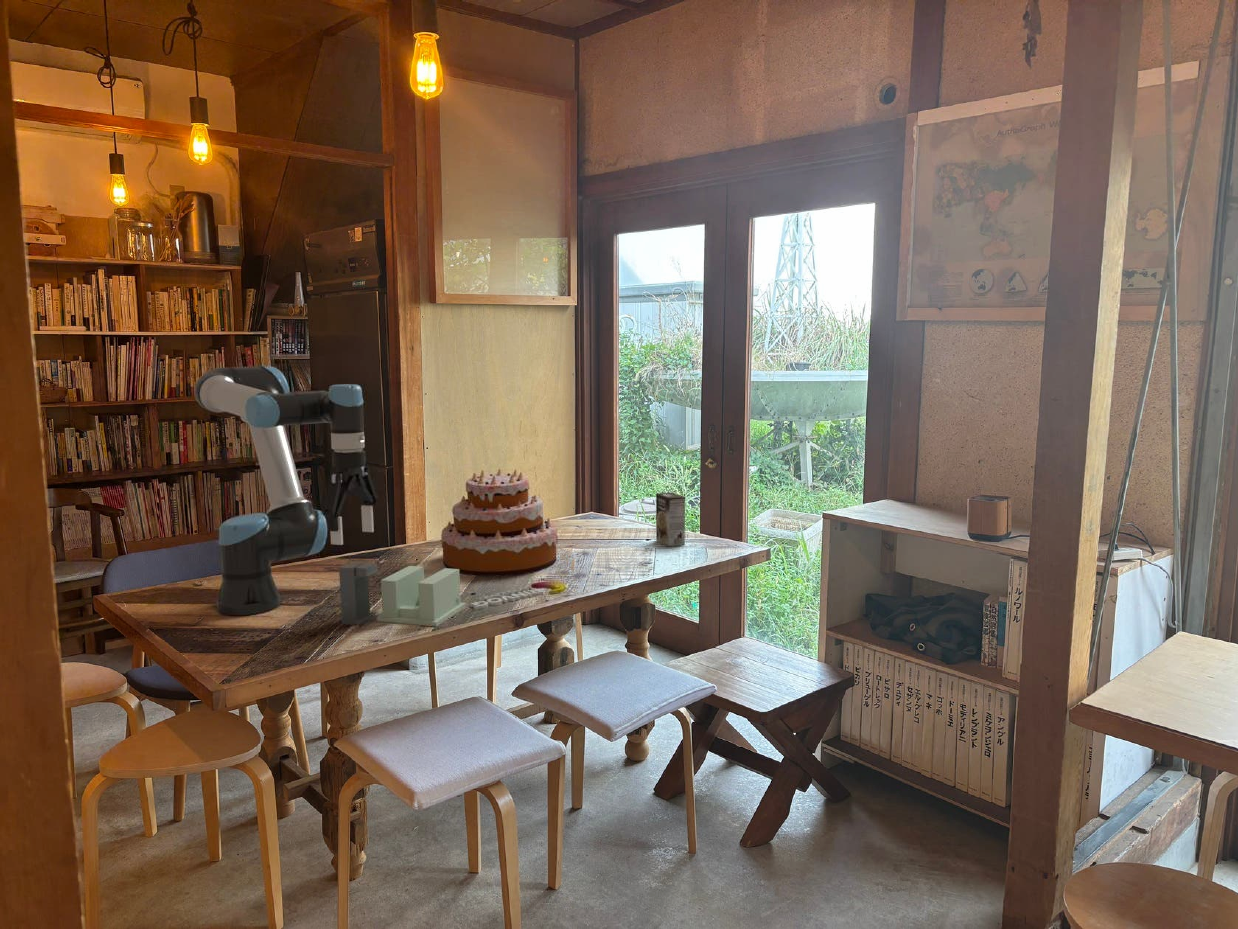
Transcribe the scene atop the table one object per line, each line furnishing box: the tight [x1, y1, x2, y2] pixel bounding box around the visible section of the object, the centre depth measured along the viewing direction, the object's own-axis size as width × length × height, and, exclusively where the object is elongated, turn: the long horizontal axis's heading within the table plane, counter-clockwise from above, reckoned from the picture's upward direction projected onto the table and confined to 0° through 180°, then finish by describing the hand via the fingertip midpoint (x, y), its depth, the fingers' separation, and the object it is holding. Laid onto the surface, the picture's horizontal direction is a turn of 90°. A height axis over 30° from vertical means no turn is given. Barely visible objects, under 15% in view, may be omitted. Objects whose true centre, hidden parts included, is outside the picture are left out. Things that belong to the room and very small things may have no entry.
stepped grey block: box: [338, 560, 379, 626], centre depth 217 cm, size 7×6×14 cm
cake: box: [440, 468, 559, 577], centre depth 272 cm, size 35×35×28 cm
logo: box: [470, 581, 566, 611], centre depth 238 cm, size 29×1×10 cm
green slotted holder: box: [376, 565, 467, 627], centre depth 223 cm, size 16×16×10 cm
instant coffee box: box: [655, 492, 686, 547], centre depth 295 cm, size 9×6×16 cm
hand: (353, 537), depth 216 cm, fingers open, 13 cm apart
